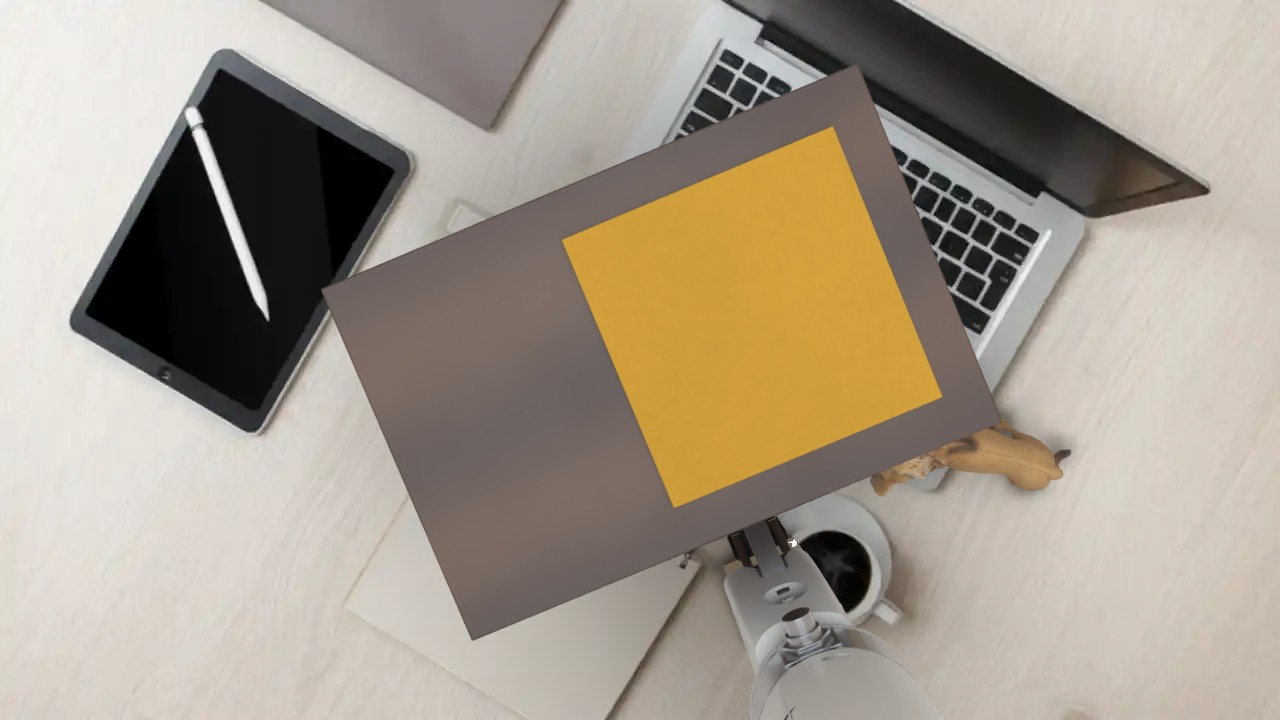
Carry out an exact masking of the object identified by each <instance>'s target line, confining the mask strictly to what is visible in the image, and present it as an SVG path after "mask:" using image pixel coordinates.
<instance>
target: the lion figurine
mask: <svg viewBox="0 0 1280 720" xmlns="http://www.w3.org/2000/svg"><path fill="white" fill-rule="evenodd" d="M1001 420H1002V422H1001V423H999V424H996V425H994V426H991V427H989V428H987V429H984V430H982V431H979V432H977V433H975V434H972V435H970V436H967V437H965V438H962V439H960V440H958V441H955V442H953V443H950V444H948V445H946V446H943V447H941V448H938V449H936V450H933V451H931V452H929V453H926V454H924V455H921V456H919V457H916V458H914V459H912V460H909V461H907V462H904V463H902V464H900V465H897V466H895V467H892V468H890V469H887V470H885V471H883V472H880V473H878V474H875V475H873V476H871V477H870V481H869V483H870V485H871V487H872V488H873V491H874V493H875V494H876V495H877V496H879V497H886V496H887V495H888V494H889V493H890V492H891V491H893V489H894V487H895V486H896V484H904V483H906V482H907V481H909V480H910V479H920V480H926V479H927V478H926V476H929V474H930V473H931V472H934V471H935V470H937V469H938V470H939V469H943V468H946V467H947V468H950V469H953V470H957V471H960V472H964V473H975V474H990V475H991V474H993V475H994V474H996V475H1002V476H1003V475H1004V476H1006V478H1007V480H1008V481H1009V483H1010V484H1011V486H1014V487H1016V488H1018V489H1020V490H1022V491H1027V492H1032V491H1039V490H1044V489H1046V488H1047V487H1048V486H1049V484H1050V482H1051V481H1057V480H1061V479H1062V478H1063V477H1064V471H1063V470H1062V469H1061V467H1060V464H1061V462H1062V461H1064V459H1067V458H1069V457H1070V456H1071V455H1072V449H1069V448H1068V449H1060V450H1058V451H1057V452H1055V454H1053V451H1051V450H1050V448H1048V446H1047V445H1046V444H1045V443H1044V442H1043V441H1041V440H1039V439H1038V438H1036V437H1034V436H1033V435H1030V434H1026V433H1024V432H1021V431H1018V430H1016V429H1014V428H1013V427H1012V426H1011V425H1010V423H1009V422H1008V421H1007V420H1005V419H1004V418H1003V417H1001Z"/></svg>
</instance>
